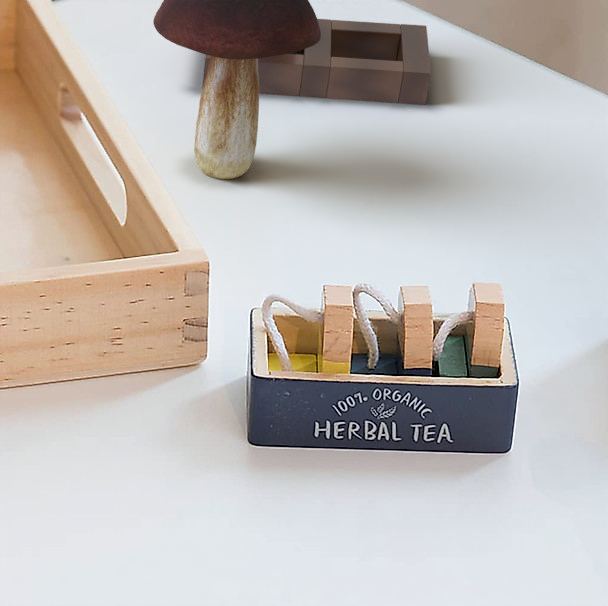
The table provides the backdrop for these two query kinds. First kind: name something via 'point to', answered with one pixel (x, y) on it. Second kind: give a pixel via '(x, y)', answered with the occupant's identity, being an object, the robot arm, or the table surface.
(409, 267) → the table surface
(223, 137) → the decorative mushroom
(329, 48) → the rack
